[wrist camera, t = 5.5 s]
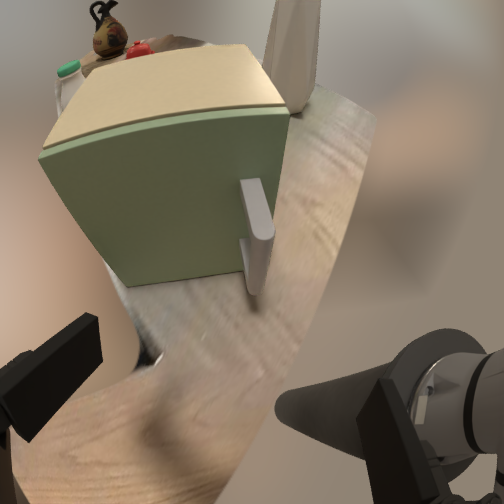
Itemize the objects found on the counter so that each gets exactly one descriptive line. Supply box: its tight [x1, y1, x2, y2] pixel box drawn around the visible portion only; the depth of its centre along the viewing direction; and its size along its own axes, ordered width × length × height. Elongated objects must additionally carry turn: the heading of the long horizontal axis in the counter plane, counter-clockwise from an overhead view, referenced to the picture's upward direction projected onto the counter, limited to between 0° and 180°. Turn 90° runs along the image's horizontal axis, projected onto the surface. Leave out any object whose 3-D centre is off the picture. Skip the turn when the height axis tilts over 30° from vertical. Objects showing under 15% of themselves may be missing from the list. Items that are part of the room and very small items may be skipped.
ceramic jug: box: [90, 0, 128, 59], centre depth 70 cm, size 17×15×30 cm
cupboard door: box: [38, 107, 290, 296], centre depth 23 cm, size 7×18×22 cm, turn 101°
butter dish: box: [125, 41, 155, 60], centre depth 72 cm, size 12×12×8 cm
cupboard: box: [43, 44, 285, 150], centre depth 29 cm, size 16×18×22 cm
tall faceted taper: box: [262, 0, 321, 114], centre depth 42 cm, size 12×12×33 cm
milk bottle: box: [57, 60, 86, 111], centre depth 39 cm, size 8×8×20 cm
